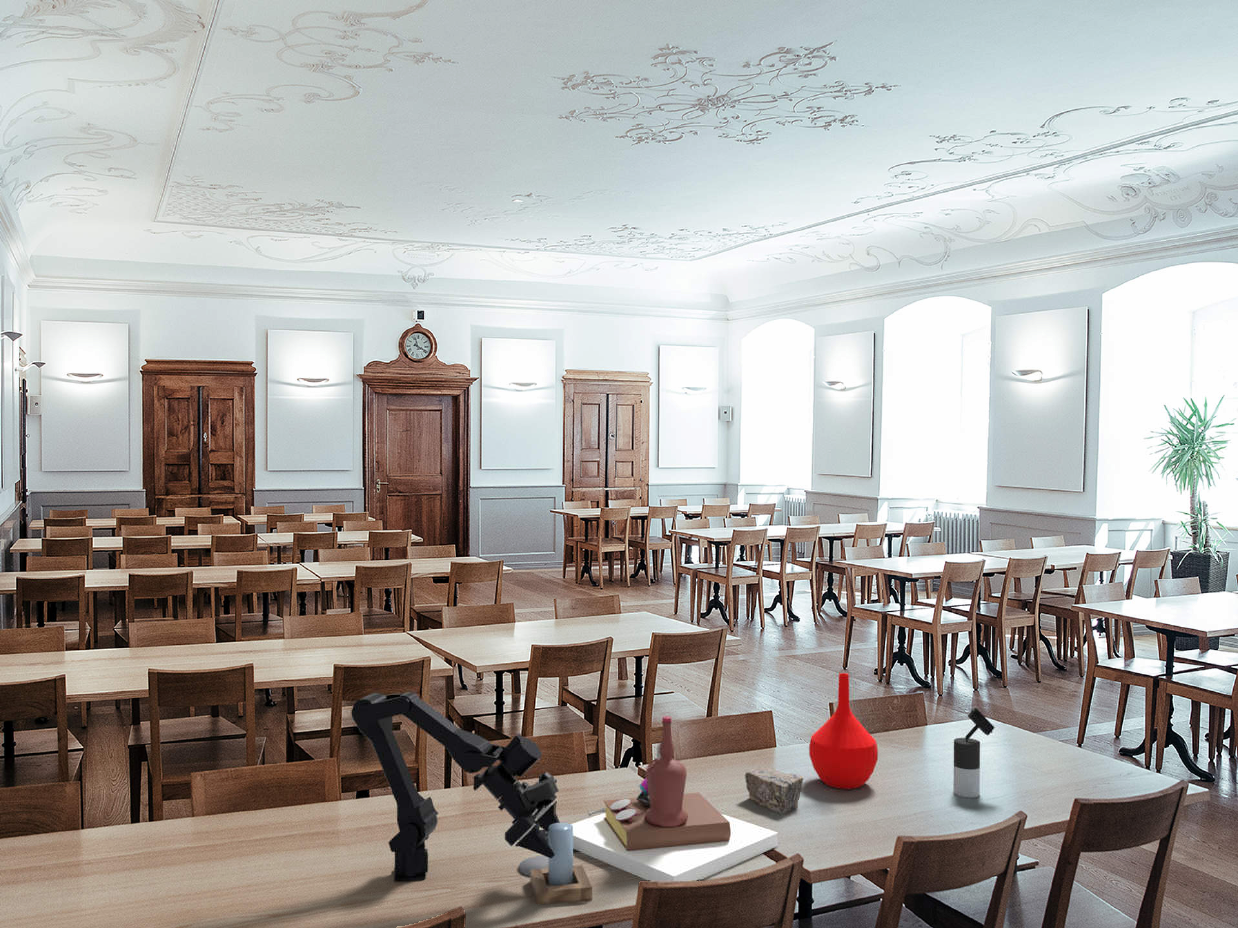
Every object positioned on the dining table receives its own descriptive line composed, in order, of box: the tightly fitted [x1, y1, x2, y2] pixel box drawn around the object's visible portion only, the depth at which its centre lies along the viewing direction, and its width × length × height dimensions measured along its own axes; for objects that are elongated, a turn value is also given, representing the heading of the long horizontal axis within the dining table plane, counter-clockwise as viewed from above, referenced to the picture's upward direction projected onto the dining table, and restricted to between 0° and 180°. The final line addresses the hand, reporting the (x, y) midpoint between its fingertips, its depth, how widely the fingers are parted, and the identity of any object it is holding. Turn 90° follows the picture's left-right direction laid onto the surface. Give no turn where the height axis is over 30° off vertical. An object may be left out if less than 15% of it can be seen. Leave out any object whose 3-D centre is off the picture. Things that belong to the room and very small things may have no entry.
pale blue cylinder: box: [547, 822, 574, 886], centre depth 208 cm, size 5×5×13 cm
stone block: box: [744, 766, 804, 815], centre depth 261 cm, size 14×9×8 cm, turn 39°
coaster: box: [518, 855, 548, 877], centre depth 219 cm, size 10×10×1 cm
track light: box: [953, 707, 996, 798], centre depth 269 cm, size 6×17×20 cm
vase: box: [808, 672, 879, 790], centre depth 277 cm, size 18×18×30 cm
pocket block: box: [529, 865, 593, 905], centre depth 208 cm, size 11×11×2 cm
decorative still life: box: [570, 716, 779, 881], centre depth 234 cm, size 35×40×31 cm
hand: (559, 847), depth 208 cm, fingers open, 9 cm apart
